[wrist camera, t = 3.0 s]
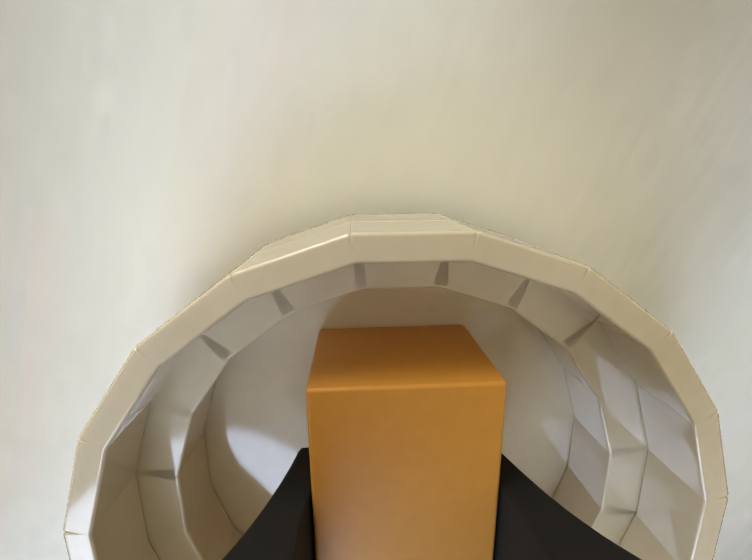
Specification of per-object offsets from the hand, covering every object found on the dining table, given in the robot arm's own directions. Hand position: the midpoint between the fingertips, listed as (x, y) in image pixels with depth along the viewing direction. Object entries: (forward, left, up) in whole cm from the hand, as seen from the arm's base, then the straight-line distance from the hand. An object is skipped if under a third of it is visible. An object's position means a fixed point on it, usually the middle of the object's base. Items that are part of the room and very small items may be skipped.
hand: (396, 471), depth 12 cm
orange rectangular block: (0, 0, -1) cm, 1 cm away
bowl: (0, 0, -2) cm, 2 cm away
